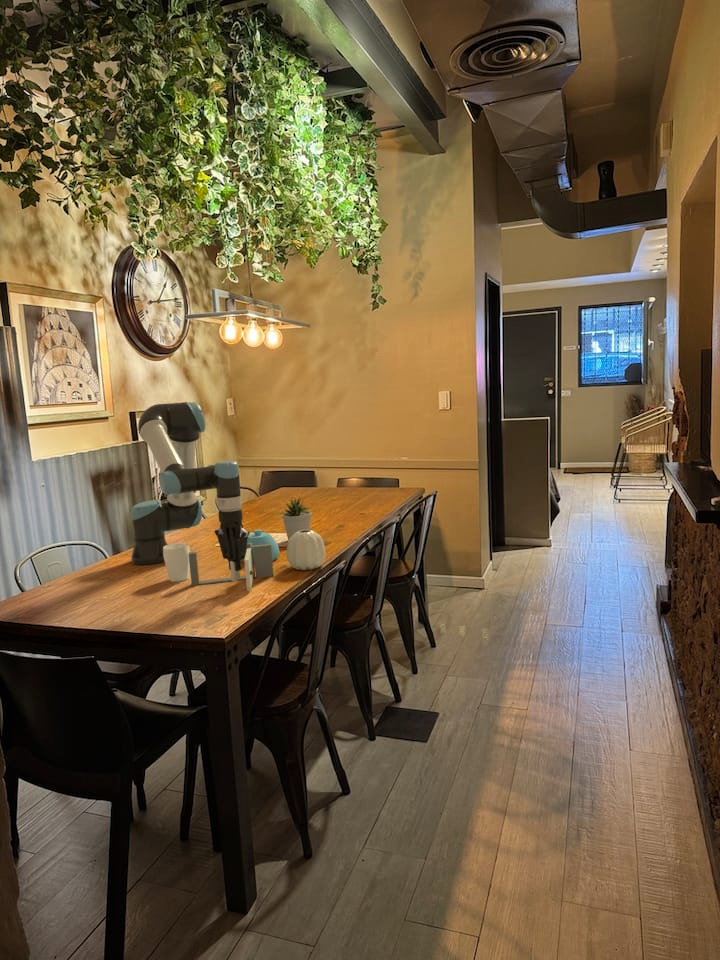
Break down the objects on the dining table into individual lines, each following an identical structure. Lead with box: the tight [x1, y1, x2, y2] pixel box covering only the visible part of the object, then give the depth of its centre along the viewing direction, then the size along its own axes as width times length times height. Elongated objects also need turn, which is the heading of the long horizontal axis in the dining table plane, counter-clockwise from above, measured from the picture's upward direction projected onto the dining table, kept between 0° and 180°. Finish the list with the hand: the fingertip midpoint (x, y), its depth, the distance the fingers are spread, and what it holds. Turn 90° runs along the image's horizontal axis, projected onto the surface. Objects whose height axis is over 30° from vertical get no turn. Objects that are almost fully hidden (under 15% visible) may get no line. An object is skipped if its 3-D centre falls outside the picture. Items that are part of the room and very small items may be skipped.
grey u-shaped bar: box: [189, 543, 275, 586], centre depth 221 cm, size 3×28×12 cm, turn 101°
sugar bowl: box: [241, 529, 280, 565], centre depth 246 cm, size 15×15×12 cm
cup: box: [163, 542, 191, 583], centre depth 226 cm, size 9×9×12 cm
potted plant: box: [279, 495, 312, 541], centre depth 273 cm, size 13×14×20 cm
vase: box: [286, 529, 327, 571], centre depth 230 cm, size 14×14×13 cm
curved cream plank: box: [243, 548, 255, 591], centre depth 212 cm, size 16×2×10 cm, turn 7°
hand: (236, 579), depth 211 cm, fingers closed
